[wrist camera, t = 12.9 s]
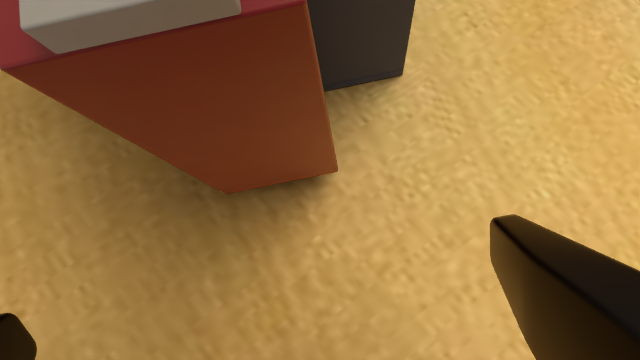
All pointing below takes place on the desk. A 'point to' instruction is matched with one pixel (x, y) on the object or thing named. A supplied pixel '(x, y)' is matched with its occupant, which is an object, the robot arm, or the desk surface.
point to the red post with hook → (184, 80)
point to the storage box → (360, 39)
